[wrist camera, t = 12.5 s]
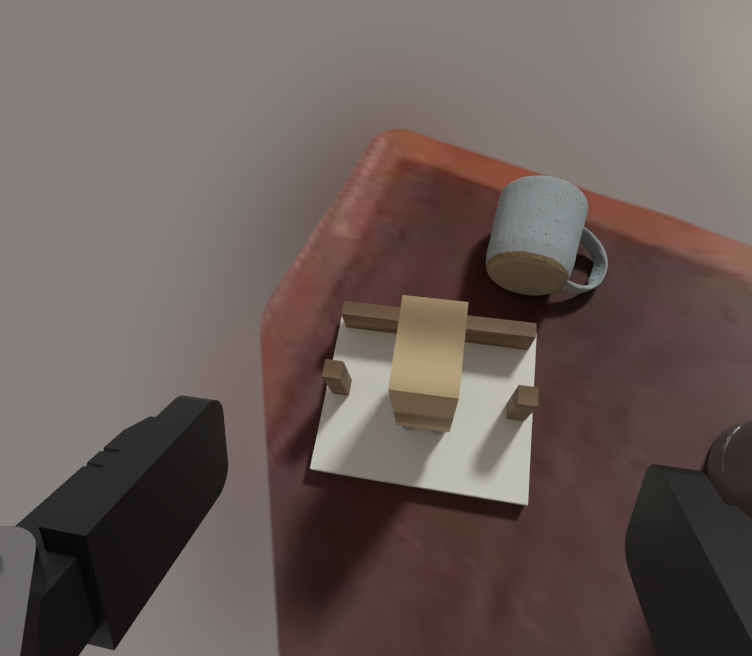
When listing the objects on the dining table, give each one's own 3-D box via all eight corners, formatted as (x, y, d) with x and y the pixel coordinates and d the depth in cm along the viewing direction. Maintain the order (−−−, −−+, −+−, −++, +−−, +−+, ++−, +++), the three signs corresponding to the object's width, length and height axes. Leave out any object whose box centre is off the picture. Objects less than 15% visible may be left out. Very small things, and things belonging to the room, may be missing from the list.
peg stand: (524, 505, 38) (527, 504, 37) (312, 470, 41) (310, 468, 40) (533, 338, 43) (536, 333, 42) (344, 315, 46) (343, 310, 45)
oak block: (449, 432, 37) (458, 398, 28) (396, 424, 37) (388, 389, 28) (457, 356, 39) (468, 302, 30) (407, 350, 40) (402, 295, 30)
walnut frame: (524, 421, 40) (537, 406, 35) (332, 393, 42) (321, 376, 37) (529, 337, 42) (542, 313, 38) (348, 315, 45) (340, 290, 40)
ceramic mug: (476, 290, 46) (488, 246, 39) (494, 217, 49) (508, 164, 41) (595, 316, 44) (630, 275, 37) (606, 239, 47) (640, 187, 40)
